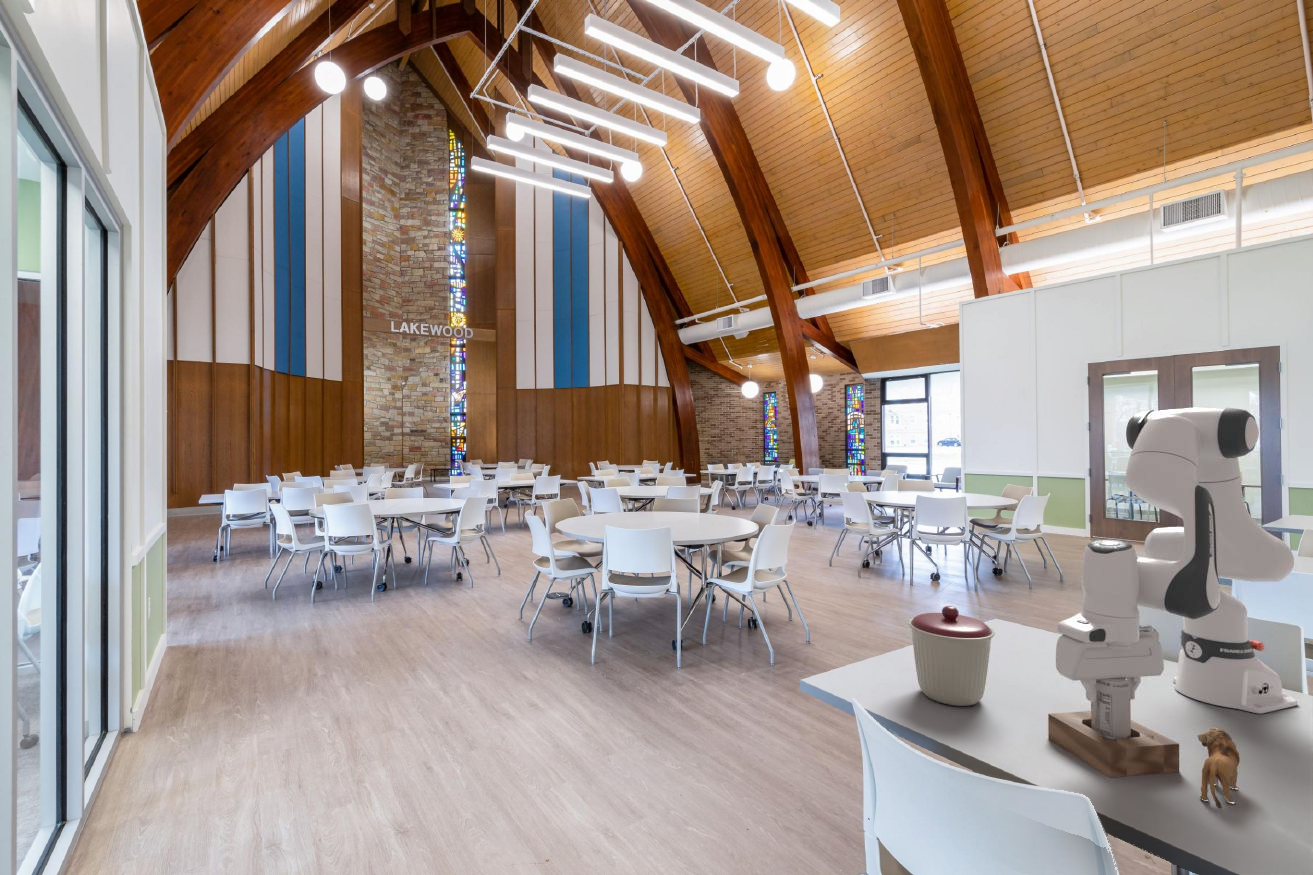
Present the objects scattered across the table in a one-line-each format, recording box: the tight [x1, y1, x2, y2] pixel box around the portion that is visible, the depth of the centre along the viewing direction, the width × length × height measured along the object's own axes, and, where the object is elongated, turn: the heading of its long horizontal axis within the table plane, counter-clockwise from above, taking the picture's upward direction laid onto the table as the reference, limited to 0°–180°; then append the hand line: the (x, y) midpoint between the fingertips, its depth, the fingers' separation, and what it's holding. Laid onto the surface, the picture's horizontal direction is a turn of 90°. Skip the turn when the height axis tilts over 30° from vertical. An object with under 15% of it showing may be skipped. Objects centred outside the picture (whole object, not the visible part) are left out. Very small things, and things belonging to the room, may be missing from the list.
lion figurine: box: [1196, 726, 1241, 810], centre depth 101 cm, size 15×5×9 cm, turn 139°
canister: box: [907, 605, 996, 707], centre depth 140 cm, size 18×18×21 cm
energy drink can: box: [1090, 678, 1132, 739], centre depth 114 cm, size 6×6×15 cm
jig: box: [1047, 710, 1180, 778], centre depth 114 cm, size 14×14×5 cm
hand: (1110, 699), depth 114 cm, fingers closed on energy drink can, 6 cm apart
